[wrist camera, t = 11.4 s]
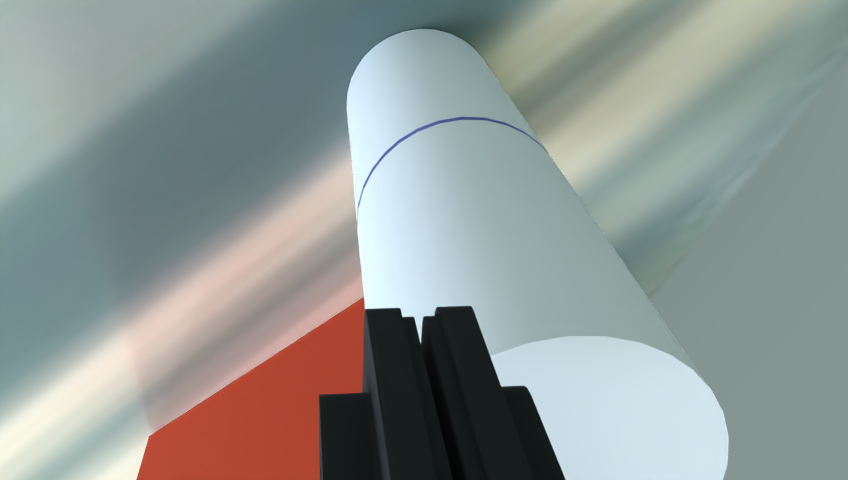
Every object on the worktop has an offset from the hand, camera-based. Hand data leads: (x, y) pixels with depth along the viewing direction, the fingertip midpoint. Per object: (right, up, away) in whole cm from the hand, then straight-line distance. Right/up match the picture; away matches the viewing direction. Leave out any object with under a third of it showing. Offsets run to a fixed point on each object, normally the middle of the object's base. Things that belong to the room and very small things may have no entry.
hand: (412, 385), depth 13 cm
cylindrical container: (0, +9, +26) cm, 27 cm away
